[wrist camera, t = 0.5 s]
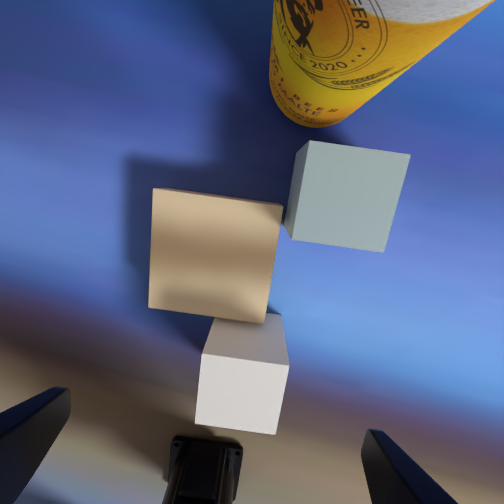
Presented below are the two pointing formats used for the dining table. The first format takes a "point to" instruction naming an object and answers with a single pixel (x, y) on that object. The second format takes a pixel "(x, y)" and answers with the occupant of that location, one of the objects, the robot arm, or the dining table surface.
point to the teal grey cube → (344, 195)
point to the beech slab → (212, 254)
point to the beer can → (352, 50)
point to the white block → (243, 375)
